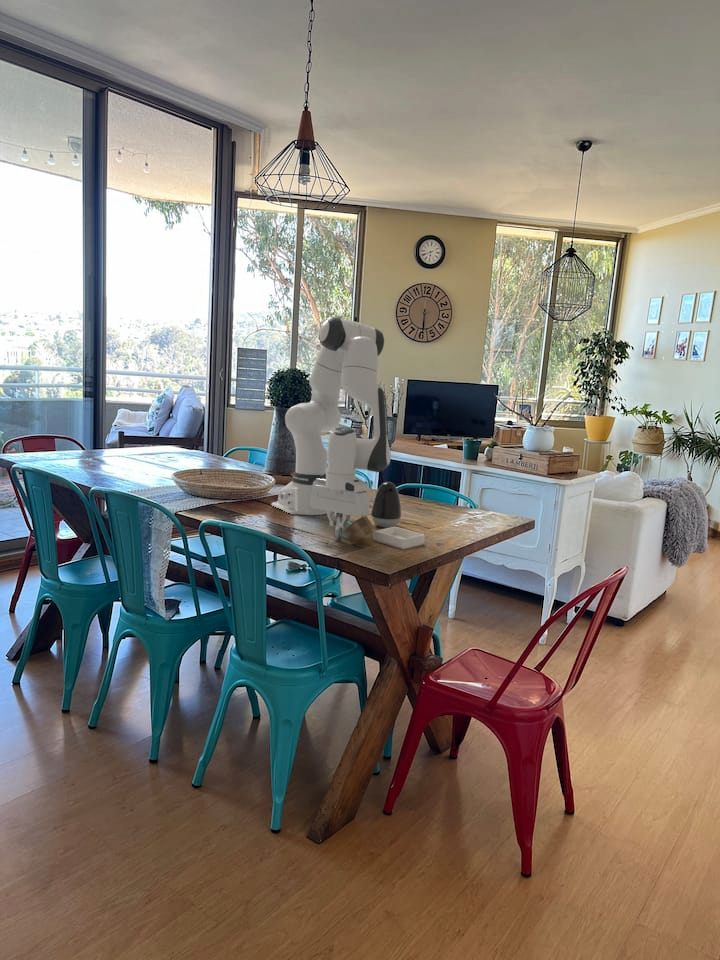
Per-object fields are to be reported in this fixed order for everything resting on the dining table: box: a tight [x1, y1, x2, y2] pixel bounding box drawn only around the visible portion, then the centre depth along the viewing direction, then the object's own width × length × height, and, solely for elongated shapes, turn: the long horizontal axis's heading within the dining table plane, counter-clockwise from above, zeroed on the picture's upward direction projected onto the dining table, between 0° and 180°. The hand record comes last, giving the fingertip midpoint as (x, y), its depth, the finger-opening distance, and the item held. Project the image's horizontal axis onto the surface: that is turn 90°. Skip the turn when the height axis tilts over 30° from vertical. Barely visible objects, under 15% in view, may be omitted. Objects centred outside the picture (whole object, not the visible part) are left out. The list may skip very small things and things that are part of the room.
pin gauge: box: [333, 512, 344, 543], centre depth 212 cm, size 2×2×9 cm
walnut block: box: [343, 515, 375, 545], centre depth 210 cm, size 6×6×5 cm
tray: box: [372, 526, 426, 550], centre depth 215 cm, size 12×10×3 cm
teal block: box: [342, 518, 357, 540], centre depth 218 cm, size 5×5×5 cm
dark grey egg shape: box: [370, 481, 402, 529], centre depth 234 cm, size 10×10×15 cm
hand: (337, 527), depth 211 cm, fingers closed on pin gauge, 2 cm apart
